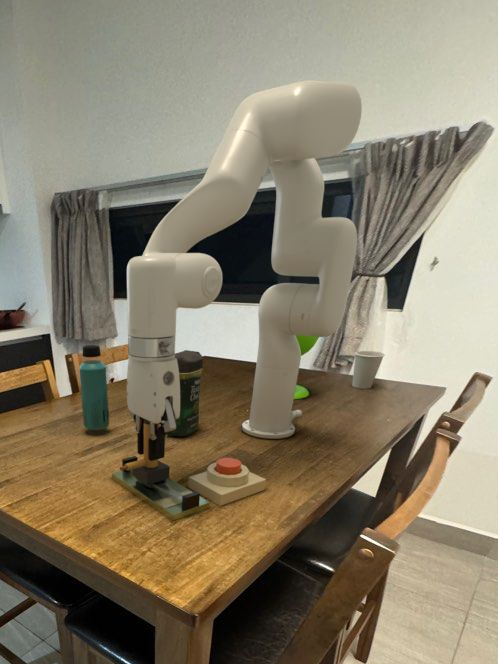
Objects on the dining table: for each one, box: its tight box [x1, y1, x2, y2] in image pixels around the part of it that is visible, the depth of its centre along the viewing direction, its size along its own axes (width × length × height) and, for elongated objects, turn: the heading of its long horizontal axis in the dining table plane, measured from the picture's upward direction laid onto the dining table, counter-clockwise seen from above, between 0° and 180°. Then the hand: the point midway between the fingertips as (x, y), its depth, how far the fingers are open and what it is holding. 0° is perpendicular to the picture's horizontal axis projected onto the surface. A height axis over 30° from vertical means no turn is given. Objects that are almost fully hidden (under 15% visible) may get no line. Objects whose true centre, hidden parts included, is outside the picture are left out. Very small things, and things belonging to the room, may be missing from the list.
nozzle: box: [119, 419, 171, 488], centre depth 80 cm, size 9×5×12 cm, turn 123°
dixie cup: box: [351, 350, 385, 390], centre depth 141 cm, size 8×8×10 cm
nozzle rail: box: [111, 455, 211, 522], centre depth 82 cm, size 8×20×4 cm, turn 33°
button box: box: [187, 461, 267, 507], centre depth 83 cm, size 11×9×4 cm
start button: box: [215, 457, 242, 475], centre depth 82 cm, size 4×4×2 cm
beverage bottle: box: [78, 344, 110, 431], centre depth 106 cm, size 6×7×20 cm
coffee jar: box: [167, 349, 204, 437], centre depth 106 cm, size 10×8×19 cm
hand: (150, 454), depth 81 cm, fingers closed on nozzle, 2 cm apart
